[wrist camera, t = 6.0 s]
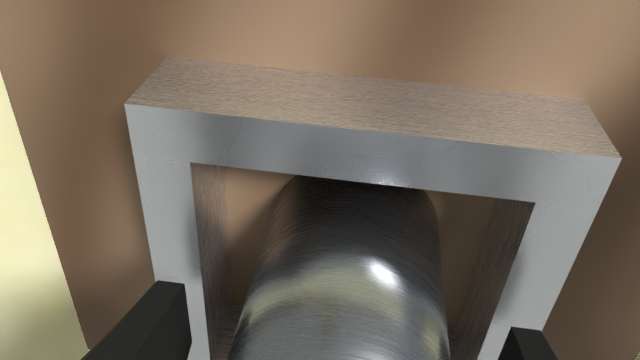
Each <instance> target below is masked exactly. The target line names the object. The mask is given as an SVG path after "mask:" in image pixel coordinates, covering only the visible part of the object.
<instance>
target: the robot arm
mask: <svg viewBox="0 0 640 360" xmlns="http://www.w3.org/2000/svg"><path fill="white" fill-rule="evenodd" d="M191 345H192V336H191V329H190V321H189V313H188V306H187V298H186V290H185V284H183V283H176V282H168V281H161V280H158V281H156V282H155V283H154V284H153V285H152V286H151V287H150V288H149V289H148V290H147V291H146V293H145V294H144V295H143V296H142V297H141V298H140V299H139V300H138V301H137V302H136V304H135V305H134V306H133V307H132V308H131V309H130V310H129V311H128V312H127V313H126V314H125V315H124V316H123V318H122V319H121V320H120V321H119V322H118V323H117V324H116V325H115V326H114V327H113V328H112V329H111V330H110V331H109V332H108V333H107V334H106V335H105V336H104V337H103V338H102V339H101V340H100V341H99V342H98V343H97V344H96V345H95V346H94V347H93V348H92V349H91V350H90V351H89V352H88V353H87V354H86V355H85V356H84V357H83V358H82V359H81V360H187V359H188V355H189V352H190V348H191ZM498 360H558V358H557V356H556V355H555V353H554V351H553V350H552V348H551V346H550V345H549V343H548V341H547V340H546V338H545V336H544V335H543V333H542V332H541V331H540V330H534V329H527V328H519V327H512V326H511V328H510V331H509V333H508V335H507V338H506V340H505V343H504V345H503V348H502V350H501V353H500V355H499V357H498Z"/></svg>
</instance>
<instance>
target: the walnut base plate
mask: <svg viewBox="0 0 640 360" xmlns="http://www.w3.org/2000/svg"><path fill="white" fill-rule="evenodd" d="M168 56H169V57H178V58H188V59H198V60H207V61H217V62H227V63H236V64H246V65H256V66H265V67H275V68H285V69H294V70H304V71H314V72H324V73H333V74H343V75H353V76H362V77H372V78H382V79H391V80H401V81H411V82H420V83H430V84H440V85H449V86H459V87H469V88H478V89H488V90H498V91H507V92H517V93H527V94H536V95H546V96H556V97H565V98H575V99H584V100H585V101H586V103H587V104H588V106H589V107H590V109H591V111H592V112H593V114H594V115H595V117H596V118H597V120H598V122H599V123H600V125H601V126H602V128H603V129H604V131H605V133H606V134H607V136H608V137H609V139H610V140H611V142H612V144H613V145H614V147H615V148H616V150H617V151H618V153H619V155H620V156H621V158H622V160H621V162H620V164H619V166H618V168H617V170H616V173H615V175H614V177H613V179H612V181H611V183H610V185H609V188H608V190H607V192H606V194H605V196H604V198H603V200H602V203H601V205H600V207H599V209H598V211H597V213H596V216H595V218H594V220H593V222H592V224H591V226H590V228H589V231H588V233H587V235H586V237H585V239H584V241H583V244H582V246H581V248H580V250H579V252H578V254H577V256H576V259H575V261H574V263H573V265H572V267H571V269H570V271H569V274H568V276H567V278H566V280H565V282H564V284H563V287H562V289H561V291H560V293H559V295H558V297H557V299H556V302H555V304H554V306H553V308H552V310H551V312H550V314H549V317H548V319H547V321H546V323H545V325H544V327H543V330H542V333H543V335H544V336H545V338H546V340H547V341H548V343H549V345H550V346H551V348H552V350H553V351H554V353H555V355H556V356H557V358H558V360H634V358H635V357H636V355H637V354H638V352H639V351H640V0H0V71H1V74H2V77H3V80H4V83H5V86H6V90H7V93H8V96H9V99H10V102H11V106H12V109H13V112H14V115H15V118H16V121H17V125H18V128H19V131H20V134H21V137H22V140H23V144H24V147H25V150H26V153H27V156H28V160H29V163H30V166H31V169H32V172H33V175H34V179H35V182H36V185H37V188H38V191H39V194H40V198H41V201H42V204H43V207H44V210H45V214H46V217H47V220H48V223H49V226H50V229H51V233H52V236H53V239H54V242H55V245H56V249H57V252H58V255H59V258H60V261H61V264H62V268H63V271H64V274H65V277H66V280H67V283H68V287H69V290H70V293H71V296H72V299H73V303H74V306H75V309H76V312H77V315H78V318H79V322H80V325H81V328H82V331H83V334H84V337H85V341H86V344H87V347H88V349H92V348H93V347H94V346H95V345H96V344H97V343H98V342H99V341H100V340H101V339H102V338H103V337H104V336H105V335H106V334H107V333H108V332H109V331H110V330H111V329H112V328H113V327H114V326H115V325H116V324H117V323H118V322H119V321H120V320H121V319H122V318H123V316H124V315H125V314H126V313H127V312H128V311H129V310H130V309H131V308H132V307H133V306H134V305H135V304H136V302H137V301H138V300H139V299H140V298H141V297H142V296H143V295H144V294H145V293H146V291H147V290H148V289H149V288H150V287H151V286H152V285H153V284H154V283H155V276H154V271H153V265H152V259H151V253H150V248H149V242H148V236H147V231H146V225H145V219H144V214H143V208H142V202H141V197H140V191H139V185H138V180H137V174H136V168H135V163H134V157H133V151H132V146H131V140H130V134H129V129H128V123H127V117H126V111H125V106H124V103H125V102H126V101H127V100H128V99H129V98H130V97H131V96H132V95H133V94H134V93H135V91H136V90H137V89H138V88H139V87H140V86H141V85H142V84H143V83H144V82H145V81H146V79H147V78H148V77H149V76H150V75H151V74H152V73H153V72H154V71H155V70H156V69H157V67H158V66H159V65H160V64H161V63H162V62H163V61H164V60H165V59H166V58H167V57H168ZM294 176H296V175H295V174H287V173H278V172H269V171H261V170H252V169H243V168H235V167H226V166H225V182H226V199H227V217H228V234H229V252H230V269H231V287H232V303H233V304H240V305H244V302H245V299H246V296H247V293H248V290H249V286H250V283H251V280H252V277H253V273H254V270H255V267H256V264H257V261H258V257H259V254H260V251H261V248H262V244H263V241H264V238H265V235H266V232H267V228H268V225H269V222H270V219H271V216H272V212H273V209H274V206H275V203H276V200H277V198H278V196H279V194H280V192H281V191H282V189H283V188H284V187H285V185H286V184H287V183H288V182H289V181H290V180H291V179H292V178H293V177H294ZM423 190H424V189H423ZM424 191H425V192H426V193H427V195H428V196H429V198H430V199H431V201H432V203H433V206H434V208H435V211H436V214H437V219H438V230H439V241H440V252H441V263H442V274H443V285H444V296H445V307H446V318H447V329H448V332H451V333H453V332H454V329H455V326H456V323H457V320H458V317H459V313H460V310H461V307H462V304H463V301H464V298H465V294H466V291H467V288H468V285H469V282H470V279H471V275H472V272H473V269H474V266H475V263H476V260H477V256H478V253H479V250H480V247H481V244H482V241H483V237H484V234H485V231H486V228H487V225H488V222H489V218H490V215H491V212H492V209H493V206H494V203H495V199H496V198H493V197H485V196H476V195H467V194H459V193H450V192H442V191H433V190H424Z"/></svg>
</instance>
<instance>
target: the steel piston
mask: <svg viewBox="0 0 640 360" xmlns="http://www.w3.org/2000/svg"><path fill="white" fill-rule="evenodd" d="M227 360H450V351H449V340H448V329H447V318H446V307H445V296H444V285H443V274H442V263H441V252H440V241H439V230H438V219H437V214H436V211H435V208H434V206H433V203H432V201H431V199H430V198H429V196H428V195H427V193H426V192H425V191H424V190H423V189H416V188H407V187H399V186H390V185H381V184H373V183H364V182H355V181H347V180H338V179H330V178H321V177H312V176H304V175H296V176H294V177H293V178H292V179H291V180H290V181H289V182H288V183H287V184H286V185H285V187H284V188H283V189H282V191H281V192H280V194H279V196H278V198H277V200H276V203H275V206H274V209H273V212H272V216H271V219H270V222H269V225H268V228H267V232H266V235H265V238H264V241H263V244H262V248H261V251H260V254H259V257H258V261H257V264H256V267H255V270H254V273H253V277H252V280H251V283H250V286H249V290H248V293H247V296H246V299H245V302H244V306H243V309H242V312H241V315H240V319H239V322H238V325H237V328H236V331H235V335H234V338H233V341H232V344H231V347H230V351H229V354H228V357H227Z"/></svg>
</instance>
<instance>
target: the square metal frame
mask: <svg viewBox="0 0 640 360" xmlns="http://www.w3.org/2000/svg"><path fill="white" fill-rule="evenodd" d="M124 106H125V111H126V117H127V123H128V129H129V134H130V140H131V146H132V151H133V157H134V163H135V168H136V174H137V180H138V185H139V191H140V197H141V202H142V208H143V214H144V219H145V225H146V231H147V236H148V242H149V248H150V253H151V259H152V265H153V271H154V276H155V282H156V281H158V280H161V281H168V282H176V283H183V284H185V290H186V298H187V306H188V313H189V321H190V329H191V336H192V345H191V348H190V352H189V355H188V359H187V360H227V357H228V354H229V351H230V347H231V344H232V341H233V338H234V335H235V331H236V328H237V325H238V322H239V319H240V315H241V312H242V309H243V306H244V305H240V304H233V303H232V287H231V269H230V252H229V234H228V217H227V199H226V182H225V166H226V167H235V168H243V169H252V170H261V171H269V172H278V173H287V174H295V175H304V176H312V177H321V178H330V179H338V180H347V181H355V182H364V183H373V184H381V185H390V186H399V187H407V188H416V189H424V190H433V191H442V192H450V193H459V194H467V195H476V196H485V197H493V198H496V199H495V203H494V206H493V209H492V212H491V215H490V218H489V222H488V225H487V228H486V231H485V234H484V237H483V241H482V244H481V247H480V250H479V253H478V256H477V260H476V263H475V266H474V269H473V272H472V275H471V279H470V282H469V285H468V288H467V291H466V294H465V298H464V301H463V304H462V307H461V310H460V313H459V317H458V320H457V323H456V326H455V329H454V332H453V333H451V332H448V340H449V351H450V360H498V357H499V355H500V353H501V350H502V348H503V345H504V343H505V340H506V338H507V335H508V333H509V331H510V328H511V326H512V327H519V328H527V329H534V330H540V331H541V332H542V330H543V327H544V325H545V323H546V321H547V319H548V317H549V314H550V312H551V310H552V308H553V306H554V304H555V302H556V299H557V297H558V295H559V293H560V291H561V289H562V287H563V284H564V282H565V280H566V278H567V276H568V274H569V271H570V269H571V267H572V265H573V263H574V261H575V259H576V256H577V254H578V252H579V250H580V248H581V246H582V244H583V241H584V239H585V237H586V235H587V233H588V231H589V228H590V226H591V224H592V222H593V220H594V218H595V216H596V213H597V211H598V209H599V207H600V205H601V203H602V200H603V198H604V196H605V194H606V192H607V190H608V188H609V185H610V183H611V181H612V179H613V177H614V175H615V173H616V170H617V168H618V166H619V164H620V162H621V160H622V158H621V156H620V155H619V153H618V151H617V150H616V148H615V147H614V145H613V144H612V142H611V140H610V139H609V137H608V136H607V134H606V133H605V131H604V129H603V128H602V126H601V125H600V123H599V122H598V120H597V118H596V117H595V115H594V114H593V112H592V111H591V109H590V107H589V106H588V104H587V103H586V101H585V100H584V99H575V98H565V97H556V96H546V95H536V94H527V93H517V92H507V91H498V90H488V89H478V88H469V87H459V86H449V85H440V84H430V83H420V82H411V81H401V80H391V79H382V78H372V77H362V76H353V75H343V74H333V73H324V72H314V71H304V70H294V69H285V68H275V67H265V66H256V65H246V64H236V63H227V62H217V61H207V60H198V59H188V58H178V57H169V56H168V57H167V58H166V59H165V60H164V61H163V62H162V63H161V64H160V65H159V66H158V67H157V69H156V70H155V71H154V72H153V73H152V74H151V75H150V76H149V77H148V78H147V79H146V81H145V82H144V83H143V84H142V85H141V86H140V87H139V88H138V89H137V90H136V91H135V93H134V94H133V95H132V96H131V97H130V98H129V99H128V100H127V101H126V102H125V103H124Z"/></svg>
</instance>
